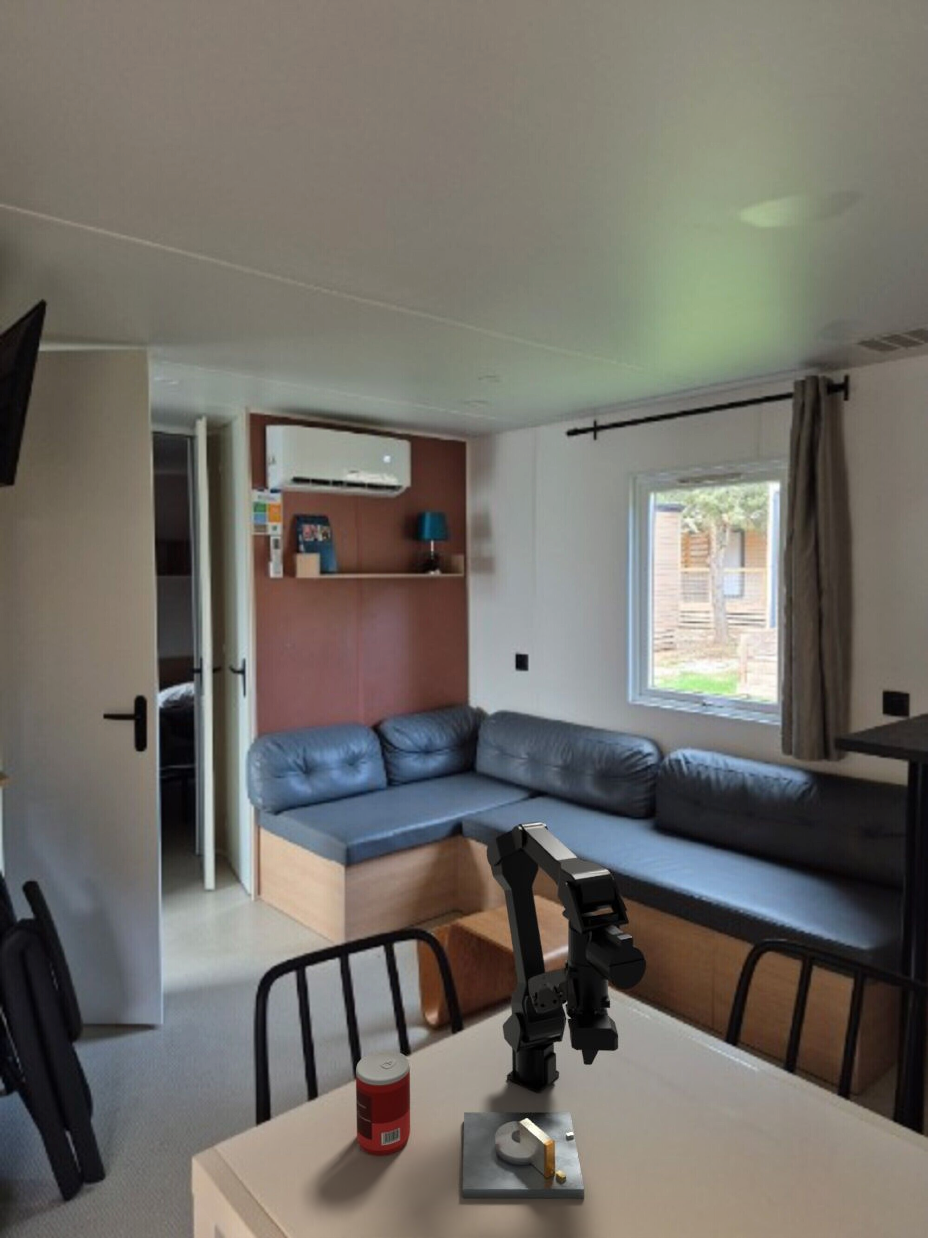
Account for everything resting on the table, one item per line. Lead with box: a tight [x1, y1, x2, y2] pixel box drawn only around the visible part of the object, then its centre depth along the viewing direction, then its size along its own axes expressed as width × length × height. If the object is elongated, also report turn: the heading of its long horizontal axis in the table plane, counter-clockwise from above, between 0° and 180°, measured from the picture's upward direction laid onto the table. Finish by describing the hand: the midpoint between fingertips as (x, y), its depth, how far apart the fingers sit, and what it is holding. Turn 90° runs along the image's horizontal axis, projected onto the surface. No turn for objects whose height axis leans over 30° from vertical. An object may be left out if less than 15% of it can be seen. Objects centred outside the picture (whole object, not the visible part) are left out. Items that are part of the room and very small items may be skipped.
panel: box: [462, 1111, 585, 1199], centre depth 116 cm, size 16×16×2 cm
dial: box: [495, 1118, 555, 1178], centre depth 114 cm, size 10×7×4 cm
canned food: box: [355, 1050, 411, 1156], centre depth 120 cm, size 8×8×11 cm
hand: (587, 1063), depth 118 cm, fingers closed
